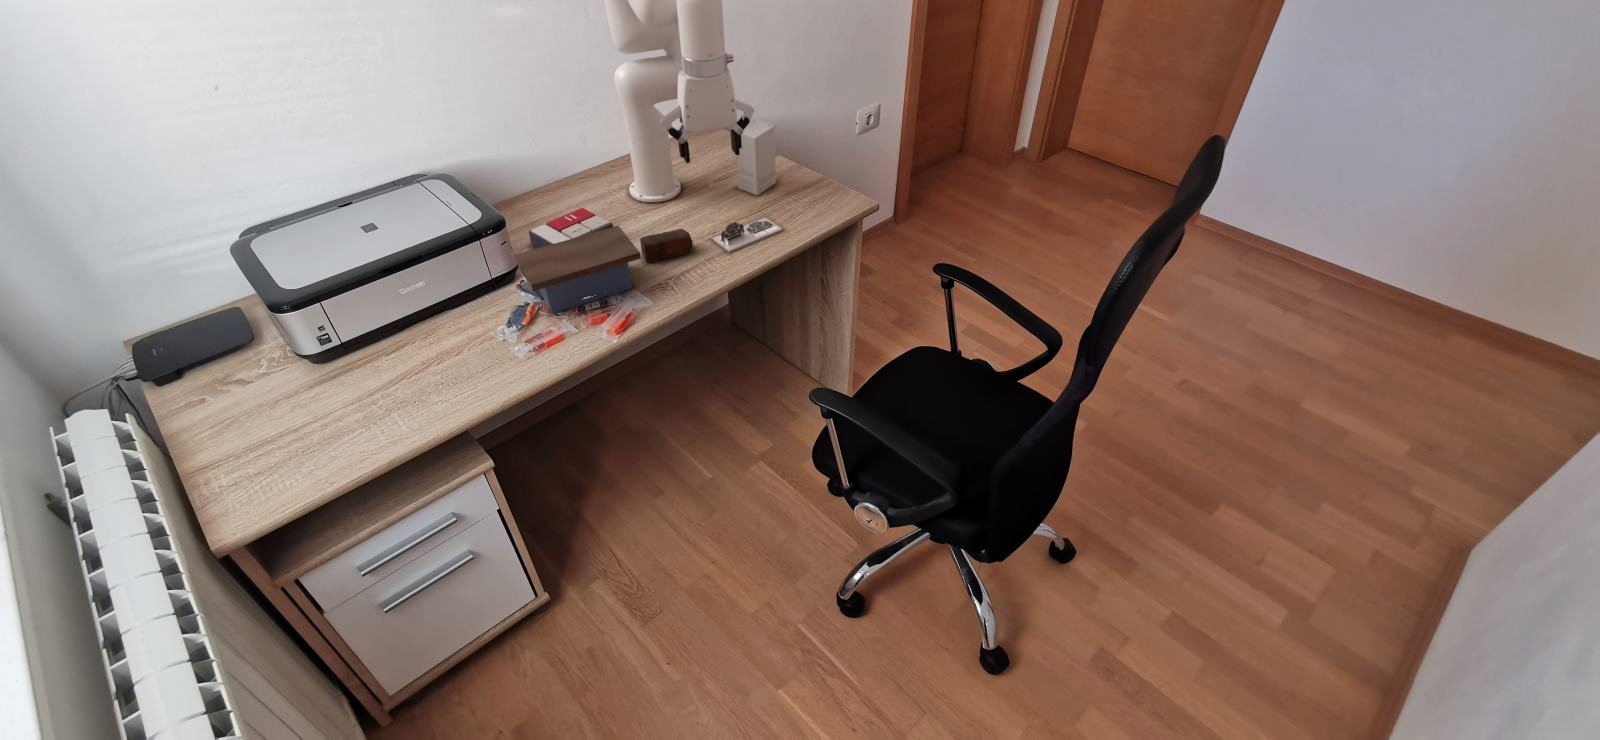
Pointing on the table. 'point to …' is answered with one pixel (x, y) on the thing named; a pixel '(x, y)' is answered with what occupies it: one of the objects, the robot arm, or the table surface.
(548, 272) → the board
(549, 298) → the blue box
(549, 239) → the button pad
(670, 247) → the brick
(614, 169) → the table surface
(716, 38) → the robot arm
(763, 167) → the cosmetic box
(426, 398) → the table surface
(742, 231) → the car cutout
